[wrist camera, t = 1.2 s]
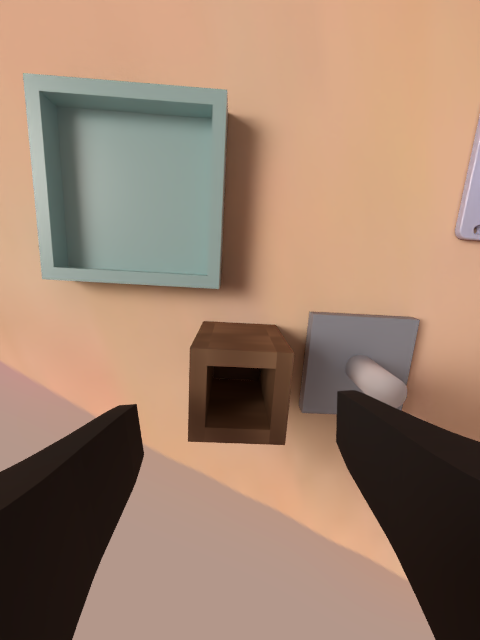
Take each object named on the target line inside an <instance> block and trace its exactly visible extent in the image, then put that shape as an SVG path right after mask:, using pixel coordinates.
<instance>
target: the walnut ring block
mask: <svg viewBox="0 0 480 640" xmlns="http://www.w3.org/2000/svg"><path fill="white" fill-rule="evenodd" d="M293 363H294V352H293V350H292V349H291V347H290V346H289V344H288V343H287V341H286V340H285V338H284V337H283V335H282V334H281V332H280V331H279V329H278V328H277V326H276V325H265V324H246V323H226V322H207V321H203V323H202V325H201V327H200V329H199V331H198V333H197V335H196V337H195V339H194V341H193V343H192V345H191V347H190V370H189V419H188V442H216V443H244V444H273V445H285V439H286V430H287V420H288V411H289V401H290V392H291V382H292V373H293ZM214 366H225V367H247V368H260V378H259V380H242V379H220V378H213V374H214Z"/></svg>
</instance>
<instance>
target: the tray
mask: <svg viewBox="0 0 480 640" xmlns="http://www.w3.org/2000/svg"><path fill="white" fill-rule="evenodd" d="M23 80H24V90H25V101H26V112H27V122H28V133H29V144H30V155H31V165H32V176H33V187H34V197H35V208H36V219H37V229H38V240H39V251H40V261H41V272H42V279H49V280H67V281H85V282H103V283H121V284H139V285H157V286H175V287H193V288H211V289H219V288H220V286H221V265H222V241H223V218H224V195H225V171H226V148H227V124H228V98H227V90H223V89H211V88H199V87H186V86H174V85H162V84H150V83H137V82H125V81H113V80H101V79H89V78H76V77H64V76H52V75H40V74H28V73H23Z"/></svg>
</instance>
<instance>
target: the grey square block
mask: <svg viewBox="0 0 480 640" xmlns="http://www.w3.org/2000/svg"><path fill="white" fill-rule="evenodd" d="M419 321H420V320H419V319H415V318H412V317H401V316H383V315H364V314H345V313H326V312H309V321H308V329H307V338H306V347H305V356H304V365H303V374H302V382H301V391H300V400H299V407H300V410H301V412H302V413H318V414H337V391H346V390H356V391H359V392H361V393H364V394H366V395H369V396H371V397H373V398H375V399H377V400H379V401H382V402H384V403H386V404H388V405H390V406H392V407H394V408H397V409H399V410H401V411H402V406H403V403H404V401H405V400H406V398H407V387H406V386H407V381H408V376H409V371H410V366H411V361H412V356H413V351H414V346H415V341H416V336H417V331H418V326H419Z"/></svg>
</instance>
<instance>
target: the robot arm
mask: <svg viewBox="0 0 480 640" xmlns="http://www.w3.org/2000/svg"><path fill="white" fill-rule="evenodd" d="M475 226H476V228H477V232H476V234H475V233H474V228H475ZM455 234H456V236H457V237H458V238H459V239H463V240H478V241H480V116H479V120H478V125H477V130H476V134H475V139H474V144H473V148H472V153H471V158H470V162H469V167H468V172H467V177H466V181H465V186H464V191H463V195H462V200H461V205H460V209H459V214H458V219H457V223H456V228H455ZM336 442H337V445H338V447H339V449H340V452H341V454H342V457H343V459H344V461H345V464H346V466H347V468H348V470H349V472H350V474H351V475H352V477H353V479H354V481H355V483H356V484H357V486H358V488H359V490H360V491H361V493H362V495H363V496H364V498H365V500H366V502H367V503H368V505H369V507H370V508H371V510H372V512H373V514H374V515H375V517H376V519H377V521H378V522H379V524H380V526H381V527H382V529H383V531H384V533H385V534H386V536H387V538H388V540H389V542H390V544H391V545H392V547H393V549H394V551H395V553H396V555H397V557H398V559H399V561H400V563H401V565H402V568H403V570H404V572H405V574H406V576H407V578H408V580H409V582H410V584H411V586H412V589H413V591H414V593H415V594H416V597H417V599H418V602H419V604H420V606H421V608H422V610H423V613H424V615H425V617H426V619H427V621H428V624H429V626H430V628H431V630H432V633H433V635H434V637H435V639H436V640H480V442H478V441H475V440H472V439H469V438H466V437H463V436H461V435H458V434H455V433H453V432H450V431H447V430H445V429H443V428H440V427H438V426H435V425H433V424H430V423H428V422H426V421H423V420H421V419H419V418H416V417H414V416H412V415H410V414H407V413H405V412H403V411H401V410H399V409H397V408H394V407H392V406H390V405H388V404H386V403H384V402H382V401H379V400H377V399H375V398H373V397H371V396H369V395H366V394H364V393H361V392H359V391H356V390H346V391H337V431H336ZM143 457H144V451H143V444H142V438H141V431H140V424H139V418H138V411H137V404H133V405H119V406H117V407H115V408H113V409H111V410H109V411H107V412H106V413H104V414H102V415H100V416H99V417H97V418H95V419H94V420H92V421H91V422H89V423H87V424H86V425H84V426H82V427H81V428H79V429H77V430H76V431H74V432H72V433H71V434H69V435H67V436H66V437H64V438H63V439H60V440H59V441H57V442H55V443H53V444H52V445H50V446H48V447H46V448H45V449H43V450H41V451H39V452H38V453H36V454H34V455H32V456H31V457H29V458H27V459H25V460H23V461H21V462H19V463H18V464H15V465H13V466H11V467H10V468H7V469H5V470H3V471H1V472H0V640H72V638H73V635H74V632H75V629H76V626H77V623H78V621H79V617H80V615H81V612H82V609H83V607H84V604H85V601H86V598H87V595H88V593H89V590H90V587H91V584H92V581H93V579H94V576H95V573H96V571H97V569H98V566H99V564H100V561H101V559H102V557H103V554H104V552H105V550H106V547H107V546H108V543H109V541H110V539H111V537H112V534H113V532H114V530H115V528H116V526H117V523H118V521H119V519H120V517H121V515H122V512H123V510H124V508H125V505H126V503H127V501H128V499H129V497H130V494H131V492H132V490H133V487H134V485H135V483H136V479H137V476H138V473H139V470H140V467H141V463H142V460H143Z"/></svg>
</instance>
